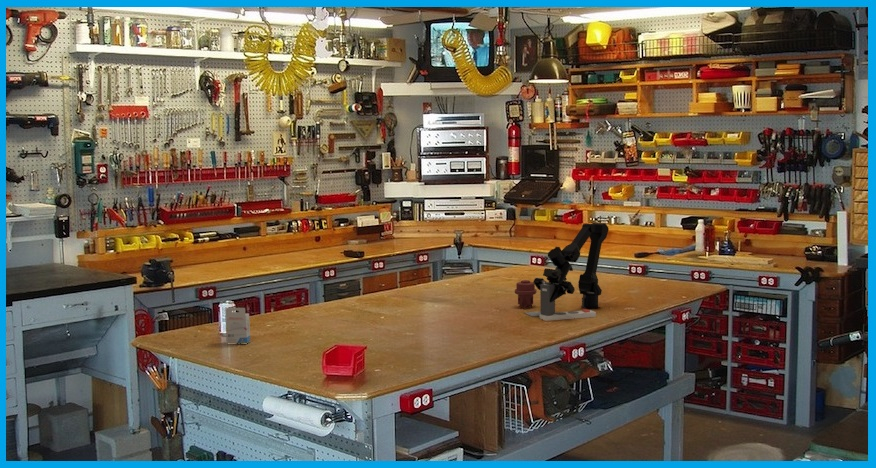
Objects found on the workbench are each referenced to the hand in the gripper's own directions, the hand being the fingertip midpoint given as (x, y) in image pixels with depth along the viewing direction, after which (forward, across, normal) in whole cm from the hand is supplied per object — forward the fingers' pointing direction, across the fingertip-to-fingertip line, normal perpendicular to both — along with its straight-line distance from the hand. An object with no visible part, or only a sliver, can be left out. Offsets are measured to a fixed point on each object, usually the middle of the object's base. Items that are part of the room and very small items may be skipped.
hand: (545, 301), depth 444 cm
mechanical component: (-7, -24, +18) cm, 31 cm away
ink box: (+85, -68, -74) cm, 132 cm away
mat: (+1, -10, +10) cm, 14 cm away
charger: (+3, 0, +5) cm, 6 cm away
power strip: (-1, +5, +12) cm, 13 cm away
